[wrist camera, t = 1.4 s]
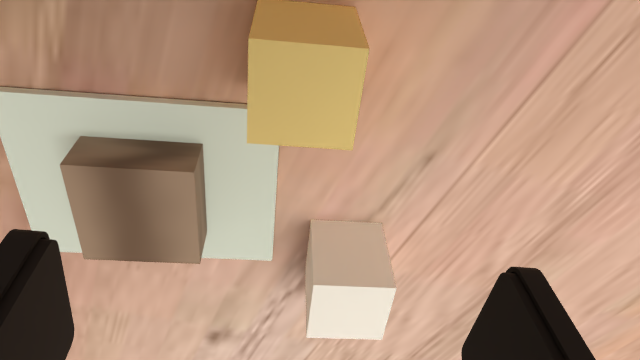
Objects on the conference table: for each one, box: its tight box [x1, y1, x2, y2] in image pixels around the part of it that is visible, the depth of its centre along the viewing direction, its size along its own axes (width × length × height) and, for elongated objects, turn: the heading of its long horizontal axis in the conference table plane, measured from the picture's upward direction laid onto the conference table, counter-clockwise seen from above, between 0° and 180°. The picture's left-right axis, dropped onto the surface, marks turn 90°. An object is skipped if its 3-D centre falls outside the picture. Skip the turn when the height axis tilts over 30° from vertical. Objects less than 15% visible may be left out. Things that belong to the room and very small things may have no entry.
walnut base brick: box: [60, 136, 207, 264], centre depth 29 cm, size 7×7×3 cm
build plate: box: [0, 87, 279, 261], centre depth 30 cm, size 16×12×1 cm
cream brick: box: [305, 219, 396, 340], centre depth 32 cm, size 5×5×6 cm
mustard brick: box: [247, 0, 369, 150], centre depth 24 cm, size 5×5×6 cm
